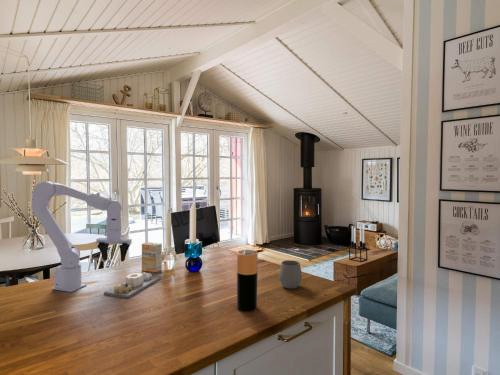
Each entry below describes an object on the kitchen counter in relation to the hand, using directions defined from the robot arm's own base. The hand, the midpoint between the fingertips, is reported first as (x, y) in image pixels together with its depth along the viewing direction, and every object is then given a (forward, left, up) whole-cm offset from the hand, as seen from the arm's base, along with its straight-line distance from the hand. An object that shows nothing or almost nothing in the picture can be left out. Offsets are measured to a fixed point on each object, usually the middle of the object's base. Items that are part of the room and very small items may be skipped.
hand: (114, 260), depth 137 cm
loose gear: (+11, -2, -8) cm, 14 cm away
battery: (+61, -7, -10) cm, 62 cm away
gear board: (+11, -2, -9) cm, 15 cm away
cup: (+72, +18, -10) cm, 75 cm away
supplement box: (+6, +18, -10) cm, 21 cm away
